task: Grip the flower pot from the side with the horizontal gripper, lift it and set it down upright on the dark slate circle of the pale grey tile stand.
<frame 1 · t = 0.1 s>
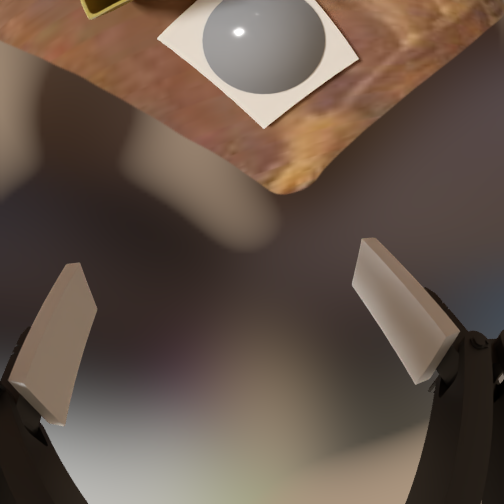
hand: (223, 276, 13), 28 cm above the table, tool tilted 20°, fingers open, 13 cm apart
tile stand: (263, 39, 26), on the table
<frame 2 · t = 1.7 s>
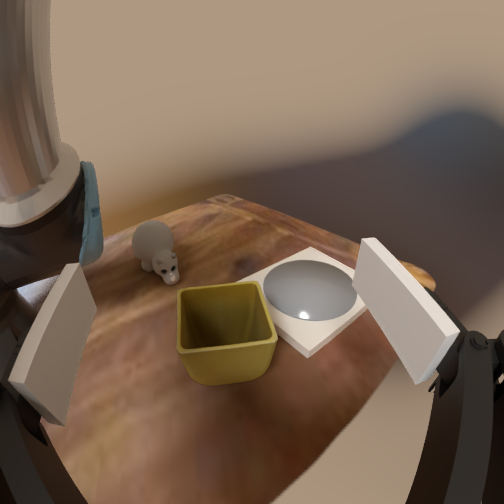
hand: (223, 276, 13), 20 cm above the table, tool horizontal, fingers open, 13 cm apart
hippopotamus figurine: (161, 272, 47), on the table
tile stand: (309, 295, 42), on the table
flower pot: (228, 368, 31), on the table
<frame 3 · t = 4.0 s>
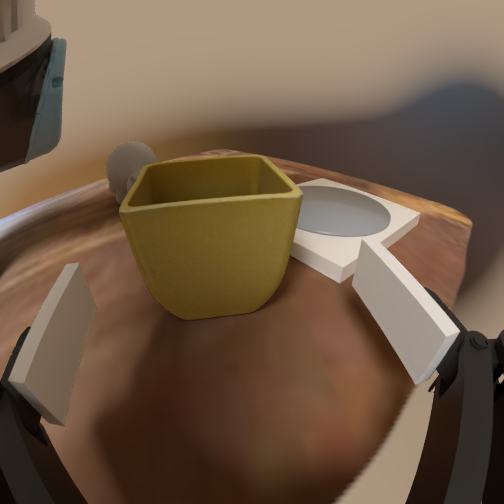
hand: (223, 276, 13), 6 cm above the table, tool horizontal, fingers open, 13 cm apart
hippopotamus figurine: (139, 206, 37), on the table
tile stand: (328, 219, 32), on the table
flower pot: (216, 298, 21), on the table
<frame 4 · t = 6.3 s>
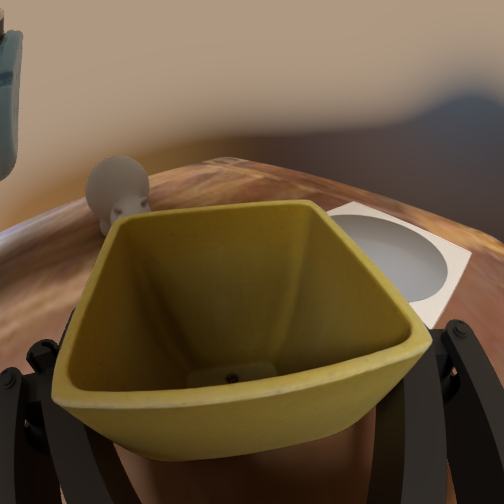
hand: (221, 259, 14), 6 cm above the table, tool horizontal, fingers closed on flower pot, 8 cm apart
hippopotamus figurine: (129, 238, 29), on the table
tile stand: (371, 264, 24), on the table
flower pot: (238, 410, 13), on the table, touching gripper
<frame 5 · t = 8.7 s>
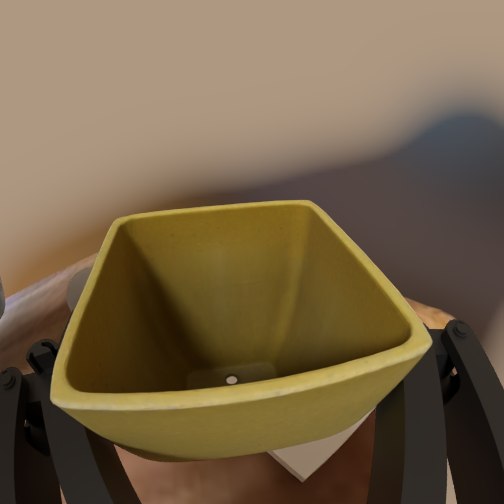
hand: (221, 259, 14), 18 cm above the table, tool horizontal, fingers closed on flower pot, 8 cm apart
hippopotamus figurine: (110, 335, 32), on the table
tile stand: (307, 375, 28), on the table
flower pot: (238, 411, 13), point 12 cm above the table, touching gripper
when the fingers open (9 cm above the table, at t = 11.6 s): flower pot drops 2 cm, resting on tile stand.
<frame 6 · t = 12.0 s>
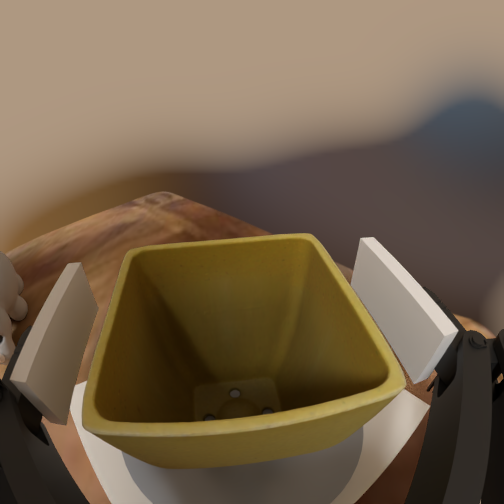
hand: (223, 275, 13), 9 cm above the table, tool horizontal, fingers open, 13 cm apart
hippopotamus figurine: (9, 334, 20), on the table
tile stand: (240, 432, 15), on the table
flower pot: (240, 422, 14), point 2 cm above the table, touching tile stand
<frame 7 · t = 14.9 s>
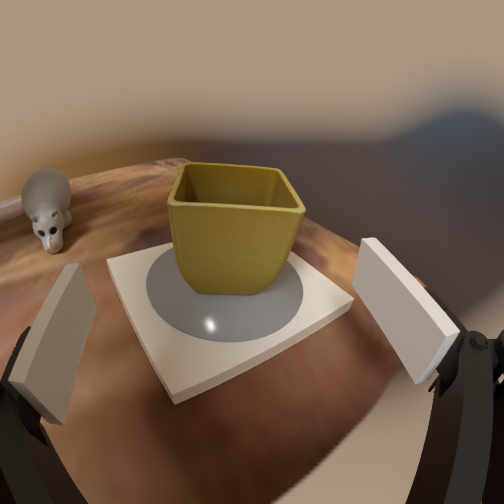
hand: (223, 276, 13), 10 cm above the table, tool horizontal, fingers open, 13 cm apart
hippopotamus figurine: (53, 237, 30), on the table
tile stand: (224, 293, 26), on the table
flower pot: (225, 279, 25), point 2 cm above the table, touching tile stand
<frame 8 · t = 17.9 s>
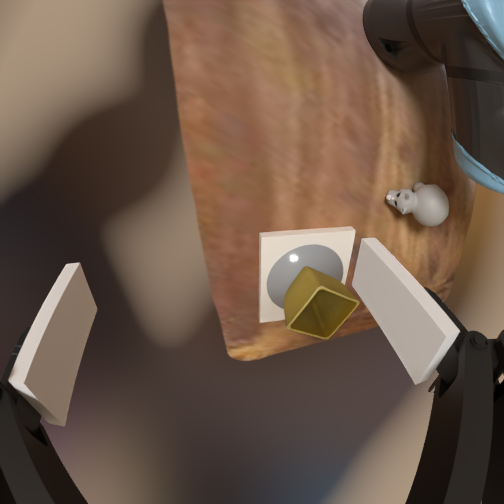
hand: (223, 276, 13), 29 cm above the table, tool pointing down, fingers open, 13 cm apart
hippopotamus figurine: (406, 193, 45), on the table
tile stand: (303, 274, 50), on the table
flower pot: (306, 280, 49), point 2 cm above the table, touching tile stand
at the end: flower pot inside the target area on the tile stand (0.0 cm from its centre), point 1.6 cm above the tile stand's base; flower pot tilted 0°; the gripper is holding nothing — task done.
